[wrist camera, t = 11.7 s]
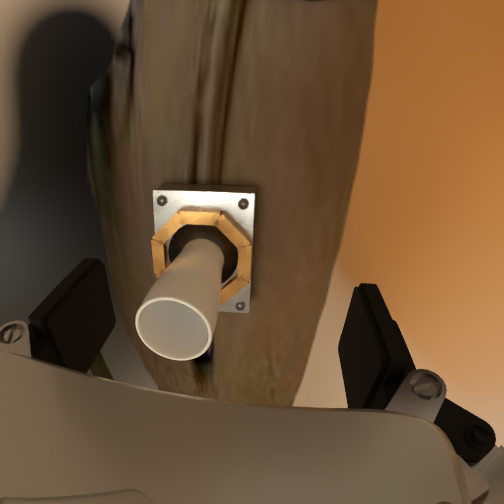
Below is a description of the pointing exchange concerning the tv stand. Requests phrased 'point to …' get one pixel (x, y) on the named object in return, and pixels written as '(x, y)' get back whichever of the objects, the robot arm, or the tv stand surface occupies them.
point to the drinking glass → (183, 303)
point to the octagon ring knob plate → (209, 232)
